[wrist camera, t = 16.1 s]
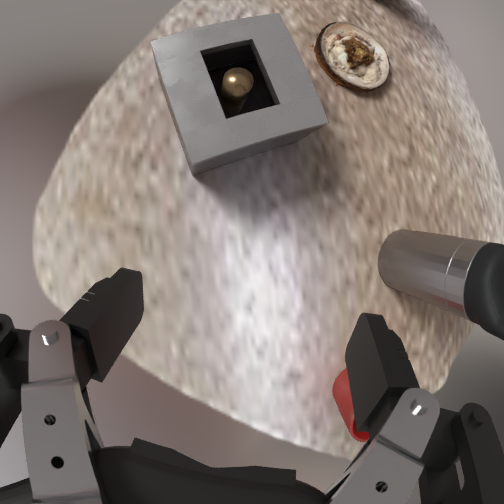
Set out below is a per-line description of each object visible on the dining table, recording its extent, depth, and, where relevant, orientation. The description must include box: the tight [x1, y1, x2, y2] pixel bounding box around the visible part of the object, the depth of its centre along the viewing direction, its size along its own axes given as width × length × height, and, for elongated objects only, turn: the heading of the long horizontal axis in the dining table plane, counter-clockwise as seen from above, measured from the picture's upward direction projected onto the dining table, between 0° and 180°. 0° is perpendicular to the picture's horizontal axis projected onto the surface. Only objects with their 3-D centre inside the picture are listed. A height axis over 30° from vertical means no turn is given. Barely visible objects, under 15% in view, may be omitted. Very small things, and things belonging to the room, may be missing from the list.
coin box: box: [151, 13, 329, 176], centre depth 30 cm, size 14×14×10 cm
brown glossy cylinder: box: [218, 68, 254, 119], centre depth 31 cm, size 3×3×9 cm
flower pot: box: [332, 368, 369, 442], centre depth 40 cm, size 11×11×10 cm
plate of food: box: [310, 22, 390, 92], centre depth 35 cm, size 15×15×4 cm
